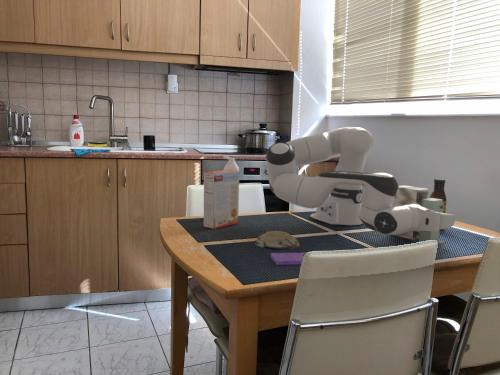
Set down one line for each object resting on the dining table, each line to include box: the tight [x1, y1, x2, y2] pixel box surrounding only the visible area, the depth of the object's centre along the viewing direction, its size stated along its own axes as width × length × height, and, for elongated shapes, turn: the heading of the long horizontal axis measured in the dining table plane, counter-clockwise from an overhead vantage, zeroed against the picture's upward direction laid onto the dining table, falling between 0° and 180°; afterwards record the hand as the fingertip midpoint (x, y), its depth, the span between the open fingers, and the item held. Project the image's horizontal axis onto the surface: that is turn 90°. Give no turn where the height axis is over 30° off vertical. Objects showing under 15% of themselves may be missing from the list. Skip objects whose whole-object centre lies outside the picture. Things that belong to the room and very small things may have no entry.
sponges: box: [270, 252, 306, 266], centre depth 124 cm, size 7×13×2 cm, turn 101°
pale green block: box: [419, 197, 444, 241], centre depth 149 cm, size 5×6×15 cm
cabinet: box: [392, 184, 447, 246], centre depth 153 cm, size 18×10×18 cm, turn 40°
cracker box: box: [203, 169, 240, 230], centre depth 162 cm, size 14×6×21 cm, turn 141°
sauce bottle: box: [429, 178, 448, 213], centre depth 171 cm, size 7×6×20 cm
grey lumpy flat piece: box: [254, 230, 300, 251], centre depth 142 cm, size 15×4×15 cm
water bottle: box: [222, 155, 240, 172], centre depth 178 cm, size 9×6×25 cm
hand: (433, 213), depth 149 cm, fingers open, 5 cm apart
